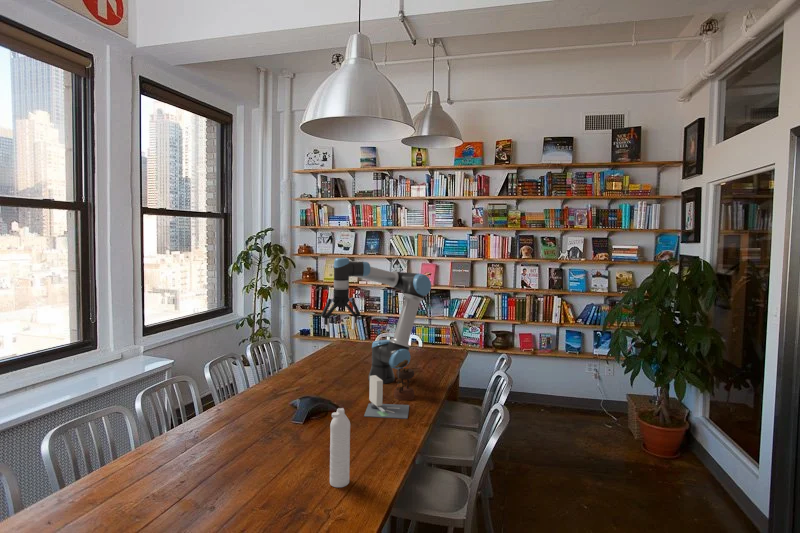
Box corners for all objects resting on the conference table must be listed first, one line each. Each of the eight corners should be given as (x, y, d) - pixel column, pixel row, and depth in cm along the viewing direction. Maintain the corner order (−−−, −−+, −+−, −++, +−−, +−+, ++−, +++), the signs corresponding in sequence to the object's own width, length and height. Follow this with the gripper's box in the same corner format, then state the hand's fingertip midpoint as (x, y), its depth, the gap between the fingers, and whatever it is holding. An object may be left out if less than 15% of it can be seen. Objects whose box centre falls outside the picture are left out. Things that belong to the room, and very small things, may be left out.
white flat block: (376, 402, 219) (376, 374, 218) (388, 413, 206) (389, 383, 205) (367, 404, 217) (368, 375, 216) (379, 414, 204) (380, 384, 203)
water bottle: (334, 476, 152) (335, 404, 150) (352, 479, 150) (353, 406, 149) (323, 489, 143) (324, 413, 142) (342, 493, 142) (343, 416, 140)
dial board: (368, 404, 219) (368, 403, 219) (409, 405, 218) (409, 404, 218) (363, 416, 203) (364, 415, 203) (407, 418, 202) (407, 417, 202)
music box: (408, 403, 222) (405, 363, 221) (388, 400, 227) (386, 361, 227) (421, 394, 235) (419, 356, 235) (402, 392, 240) (400, 355, 240)
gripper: (361, 287, 233) (360, 327, 234) (314, 288, 222) (314, 330, 223) (367, 288, 226) (366, 330, 228) (319, 290, 215) (318, 333, 217)
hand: (340, 330), depth 225 cm, fingers open, 13 cm apart
